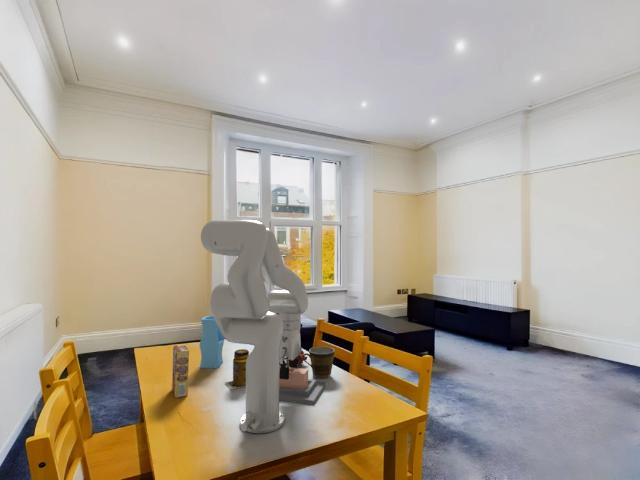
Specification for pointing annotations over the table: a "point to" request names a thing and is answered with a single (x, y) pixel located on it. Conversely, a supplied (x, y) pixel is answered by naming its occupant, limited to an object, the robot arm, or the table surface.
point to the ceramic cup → (321, 361)
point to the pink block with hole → (295, 379)
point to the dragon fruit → (301, 357)
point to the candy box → (180, 371)
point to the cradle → (302, 393)
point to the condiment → (239, 369)
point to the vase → (211, 344)
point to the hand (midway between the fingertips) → (289, 374)
